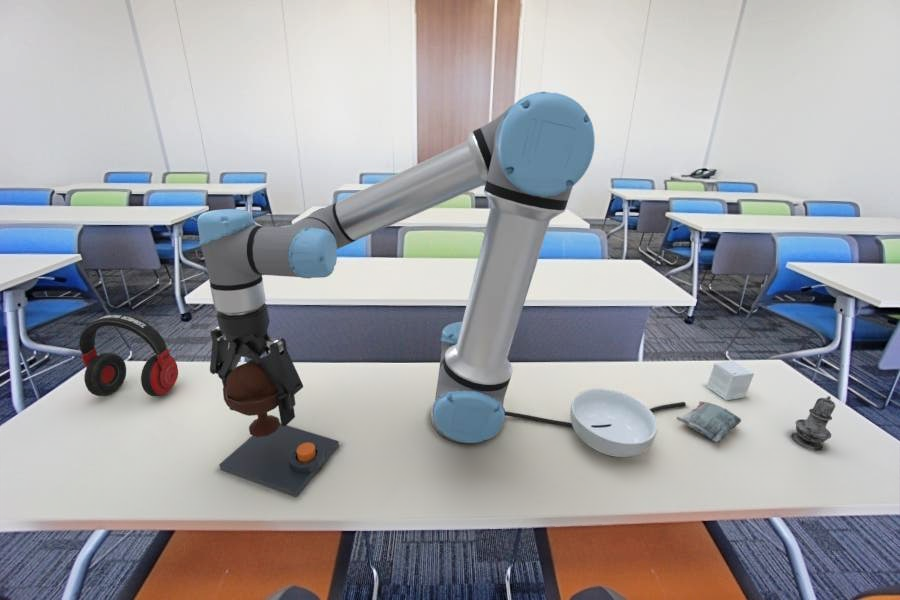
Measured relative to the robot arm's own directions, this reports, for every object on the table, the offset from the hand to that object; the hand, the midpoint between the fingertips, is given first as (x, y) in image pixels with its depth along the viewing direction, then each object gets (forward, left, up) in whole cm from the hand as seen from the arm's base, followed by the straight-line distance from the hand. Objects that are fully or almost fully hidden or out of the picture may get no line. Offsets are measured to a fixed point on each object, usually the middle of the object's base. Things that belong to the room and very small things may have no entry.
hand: (262, 413), depth 74 cm
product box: (-92, -58, -10) cm, 109 cm away
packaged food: (-84, -41, -10) cm, 94 cm away
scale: (-3, 0, -10) cm, 10 cm away
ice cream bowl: (0, 0, -3) cm, 3 cm away
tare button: (-9, 0, -7) cm, 11 cm away
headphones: (+42, -5, -10) cm, 44 cm away
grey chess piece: (-104, -44, -10) cm, 113 cm away
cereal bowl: (-63, -29, -10) cm, 70 cm away
